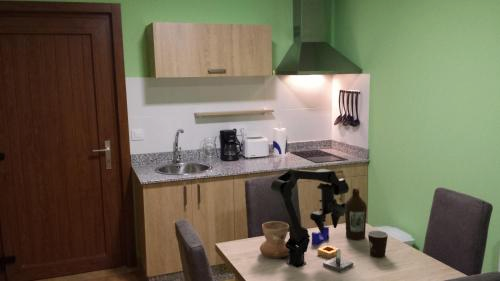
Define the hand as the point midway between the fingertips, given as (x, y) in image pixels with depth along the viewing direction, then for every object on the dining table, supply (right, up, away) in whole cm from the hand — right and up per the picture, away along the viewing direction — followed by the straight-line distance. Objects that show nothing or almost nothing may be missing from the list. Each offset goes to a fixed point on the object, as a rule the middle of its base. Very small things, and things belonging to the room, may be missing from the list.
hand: (328, 230), depth 205 cm
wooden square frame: (0, -11, +1) cm, 11 cm away
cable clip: (-2, -9, +19) cm, 21 cm away
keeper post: (+2, -13, -11) cm, 17 cm away
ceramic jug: (-24, -12, +3) cm, 27 cm away
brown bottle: (+17, -8, +23) cm, 30 cm away
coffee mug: (+22, -11, 0) cm, 25 cm away
